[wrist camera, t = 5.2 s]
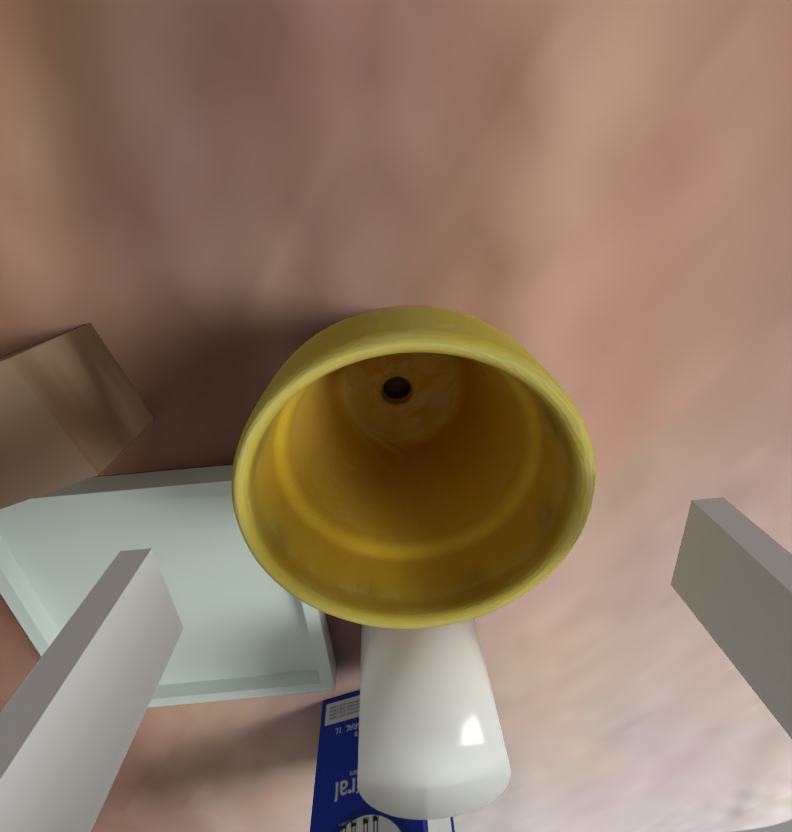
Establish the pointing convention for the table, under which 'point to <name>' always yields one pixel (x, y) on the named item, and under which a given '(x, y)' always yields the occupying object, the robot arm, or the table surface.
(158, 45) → the table surface
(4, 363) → the walnut block
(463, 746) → the white rounded capsule
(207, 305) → the table surface
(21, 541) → the tray
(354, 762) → the milk carton
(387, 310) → the plant pot
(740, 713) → the table surface
